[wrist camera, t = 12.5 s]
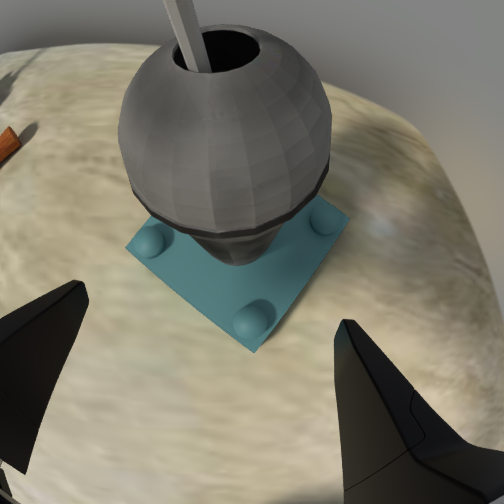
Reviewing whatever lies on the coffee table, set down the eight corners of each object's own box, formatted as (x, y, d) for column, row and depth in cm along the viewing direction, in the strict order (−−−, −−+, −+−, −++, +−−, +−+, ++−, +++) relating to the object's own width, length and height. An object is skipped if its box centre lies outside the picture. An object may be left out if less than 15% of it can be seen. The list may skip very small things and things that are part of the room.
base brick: (342, 226, 23) (353, 214, 20) (253, 350, 21) (254, 354, 18) (226, 148, 25) (224, 129, 22) (134, 253, 22) (120, 245, 19)
